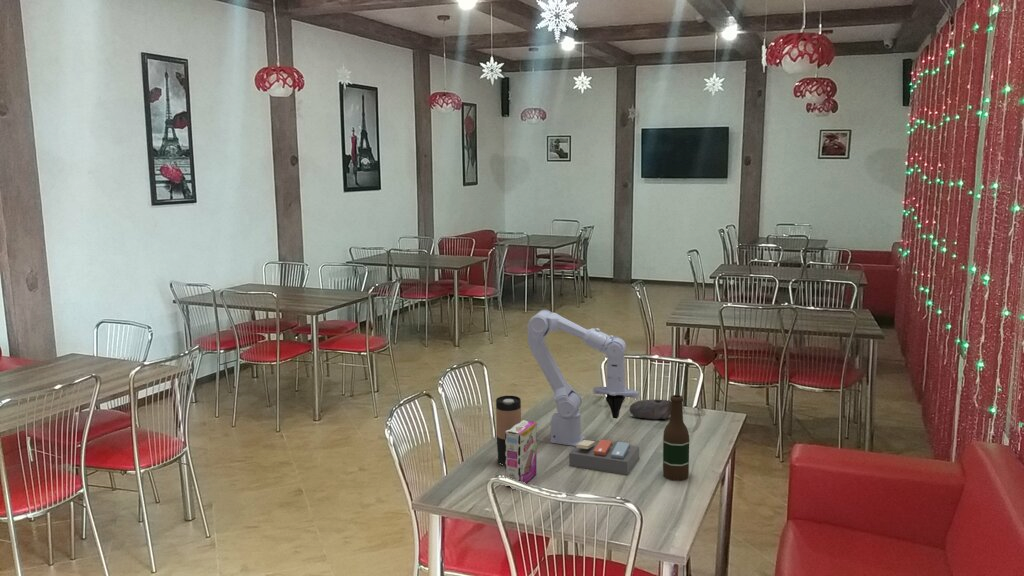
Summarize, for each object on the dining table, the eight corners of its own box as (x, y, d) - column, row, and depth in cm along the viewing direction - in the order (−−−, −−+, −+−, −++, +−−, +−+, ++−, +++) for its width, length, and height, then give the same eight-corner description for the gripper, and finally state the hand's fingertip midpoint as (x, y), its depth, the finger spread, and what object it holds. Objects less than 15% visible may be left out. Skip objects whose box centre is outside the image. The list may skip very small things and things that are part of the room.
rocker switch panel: (569, 465, 228) (569, 452, 228) (583, 450, 240) (583, 437, 239) (627, 475, 221) (627, 461, 220) (639, 458, 232) (639, 445, 232)
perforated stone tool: (628, 419, 268) (628, 400, 266) (630, 414, 273) (630, 396, 271) (671, 422, 264) (672, 403, 262) (672, 417, 268) (673, 398, 267)
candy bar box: (520, 489, 213) (519, 434, 210) (505, 486, 215) (503, 431, 212) (538, 474, 222) (537, 421, 220) (522, 471, 225) (521, 419, 222)
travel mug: (509, 455, 238) (508, 393, 234) (527, 461, 232) (526, 398, 229) (492, 462, 232) (490, 399, 229) (509, 468, 227) (508, 405, 224)
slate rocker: (611, 457, 224) (611, 453, 223) (618, 444, 229) (617, 441, 229) (623, 458, 222) (622, 455, 222) (629, 446, 228) (629, 442, 228)
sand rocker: (576, 447, 228) (576, 443, 228) (584, 443, 235) (584, 439, 235) (587, 449, 227) (587, 445, 227) (595, 444, 233) (595, 441, 233)
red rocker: (593, 453, 226) (593, 450, 226) (600, 442, 232) (600, 439, 232) (605, 455, 224) (604, 452, 224) (612, 444, 230) (612, 440, 230)
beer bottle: (683, 483, 215) (685, 402, 211) (657, 477, 219) (659, 397, 215) (693, 473, 221) (694, 394, 217) (667, 468, 225) (668, 390, 221)
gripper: (589, 377, 239) (590, 418, 242) (634, 382, 233) (634, 424, 236) (597, 371, 246) (597, 411, 248) (640, 376, 240) (640, 417, 242)
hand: (615, 417), depth 242 cm, fingers closed
